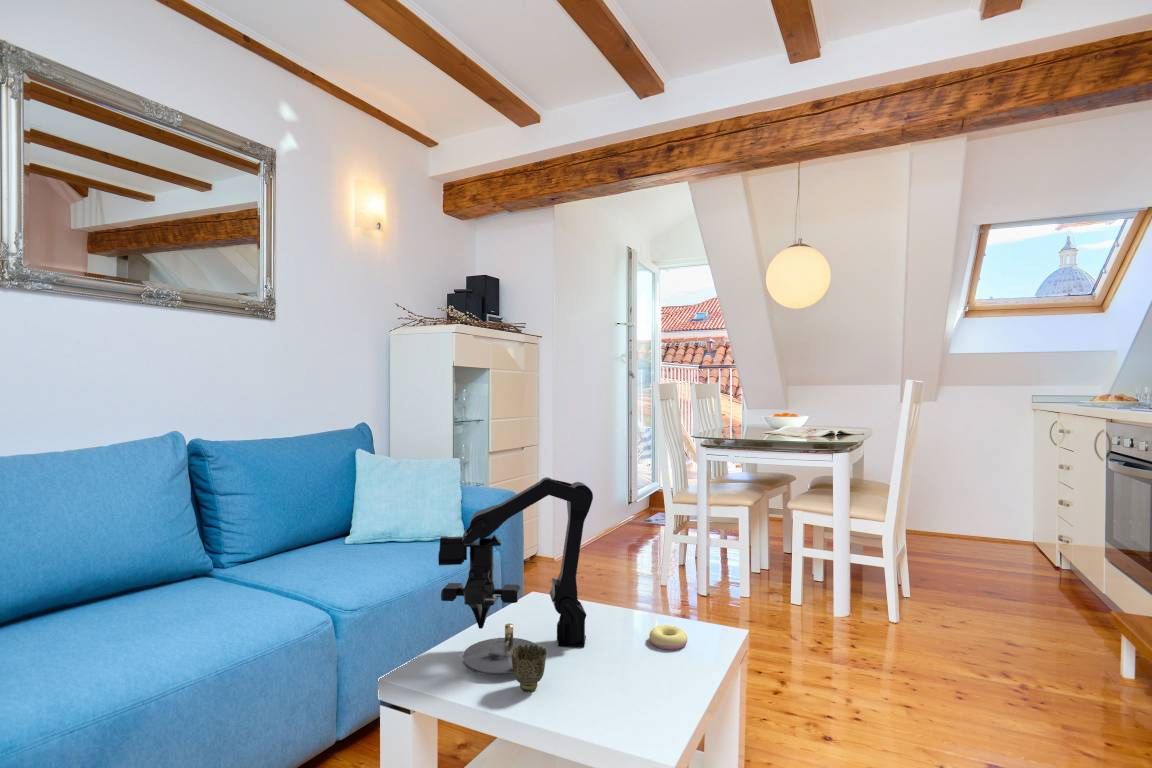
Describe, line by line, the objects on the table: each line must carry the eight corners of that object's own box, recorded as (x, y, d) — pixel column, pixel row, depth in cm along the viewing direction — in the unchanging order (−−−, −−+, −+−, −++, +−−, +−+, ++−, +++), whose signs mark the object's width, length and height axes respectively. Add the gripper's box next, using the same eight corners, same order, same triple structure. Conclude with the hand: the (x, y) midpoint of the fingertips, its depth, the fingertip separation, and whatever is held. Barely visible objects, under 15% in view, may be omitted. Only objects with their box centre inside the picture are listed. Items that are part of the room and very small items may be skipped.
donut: (653, 659, 145) (691, 654, 145) (651, 642, 145) (689, 636, 145) (648, 637, 155) (684, 632, 155) (646, 620, 155) (682, 615, 155)
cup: (541, 699, 121) (541, 659, 121) (506, 696, 123) (506, 656, 123) (550, 682, 129) (550, 644, 129) (517, 679, 130) (517, 642, 130)
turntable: (546, 642, 146) (546, 624, 147) (535, 676, 129) (535, 655, 129) (473, 640, 148) (474, 622, 148) (453, 673, 130) (453, 652, 130)
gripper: (433, 572, 140) (433, 639, 139) (513, 574, 138) (512, 642, 138) (447, 559, 151) (447, 622, 150) (521, 561, 149) (521, 624, 149)
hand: (481, 628), depth 147 cm, fingers closed
